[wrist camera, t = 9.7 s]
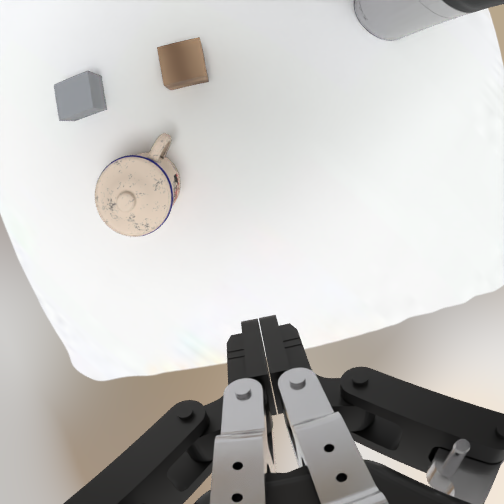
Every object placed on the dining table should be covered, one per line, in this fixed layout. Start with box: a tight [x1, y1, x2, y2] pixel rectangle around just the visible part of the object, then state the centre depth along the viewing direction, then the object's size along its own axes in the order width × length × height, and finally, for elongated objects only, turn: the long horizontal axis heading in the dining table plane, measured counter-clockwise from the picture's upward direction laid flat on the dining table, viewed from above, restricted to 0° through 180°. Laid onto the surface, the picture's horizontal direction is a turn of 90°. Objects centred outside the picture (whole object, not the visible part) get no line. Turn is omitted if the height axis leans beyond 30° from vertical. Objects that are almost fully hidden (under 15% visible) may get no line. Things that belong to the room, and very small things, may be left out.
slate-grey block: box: [54, 71, 107, 121], centre depth 33 cm, size 5×5×5 cm
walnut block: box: [157, 37, 209, 90], centre depth 33 cm, size 5×5×5 cm
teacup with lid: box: [95, 133, 180, 237], centre depth 35 cm, size 12×9×12 cm
